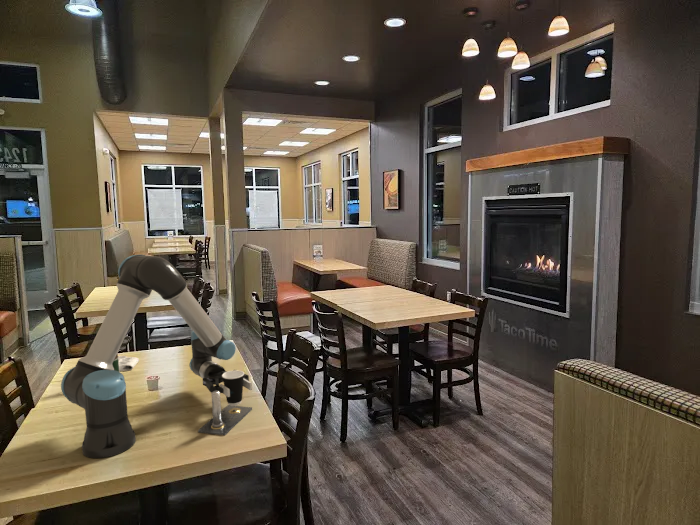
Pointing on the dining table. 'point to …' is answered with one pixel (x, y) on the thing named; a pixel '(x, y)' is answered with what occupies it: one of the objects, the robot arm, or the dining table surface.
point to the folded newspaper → (127, 362)
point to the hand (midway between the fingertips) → (239, 389)
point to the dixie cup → (234, 386)
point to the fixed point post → (216, 410)
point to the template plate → (226, 420)
